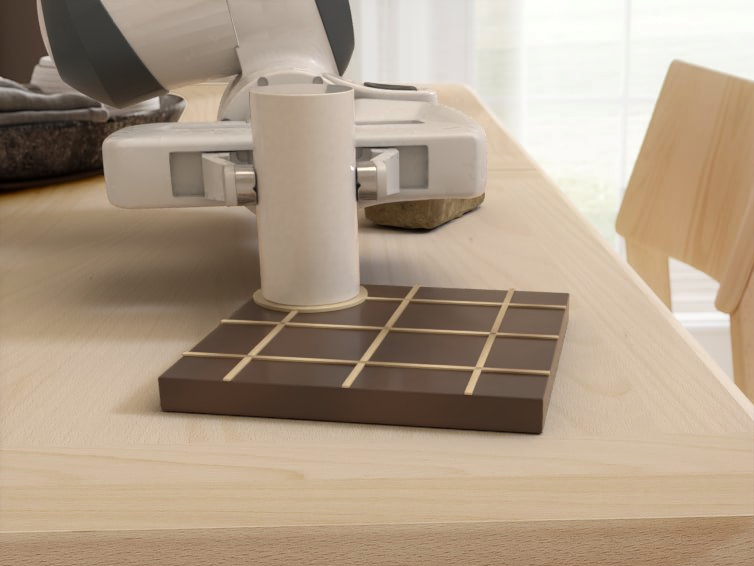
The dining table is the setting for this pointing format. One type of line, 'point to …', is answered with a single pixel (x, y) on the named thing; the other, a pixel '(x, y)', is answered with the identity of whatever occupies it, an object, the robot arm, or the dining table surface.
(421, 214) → the stone block
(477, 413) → the grid board
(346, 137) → the tall white cylinder
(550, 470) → the dining table surface
